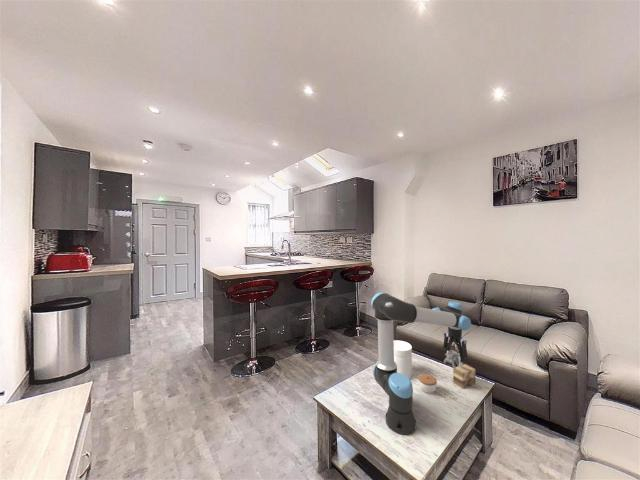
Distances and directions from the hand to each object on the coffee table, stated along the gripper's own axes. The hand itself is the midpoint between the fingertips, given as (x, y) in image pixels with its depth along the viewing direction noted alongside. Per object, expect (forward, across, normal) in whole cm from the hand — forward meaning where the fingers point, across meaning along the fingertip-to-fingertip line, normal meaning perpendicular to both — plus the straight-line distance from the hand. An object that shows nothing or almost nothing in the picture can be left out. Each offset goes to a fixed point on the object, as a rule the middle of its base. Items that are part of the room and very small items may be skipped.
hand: (454, 363), depth 154 cm
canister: (+18, +30, +17) cm, 38 cm away
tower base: (+18, +3, -13) cm, 22 cm away
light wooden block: (+13, +3, -13) cm, 19 cm away
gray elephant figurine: (0, 0, 0) cm, 1 cm away
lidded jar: (+18, +8, +15) cm, 24 cm away
